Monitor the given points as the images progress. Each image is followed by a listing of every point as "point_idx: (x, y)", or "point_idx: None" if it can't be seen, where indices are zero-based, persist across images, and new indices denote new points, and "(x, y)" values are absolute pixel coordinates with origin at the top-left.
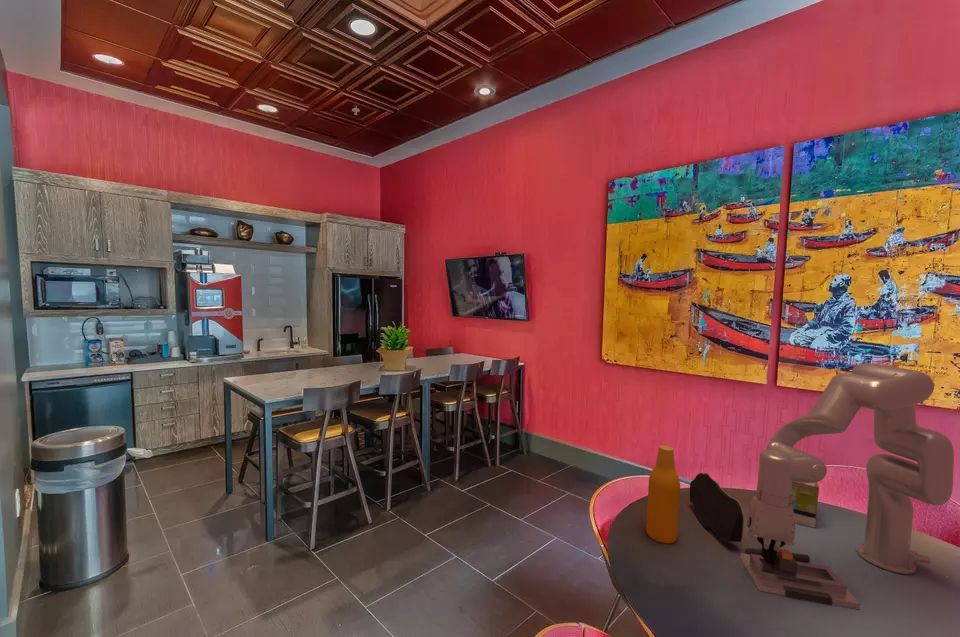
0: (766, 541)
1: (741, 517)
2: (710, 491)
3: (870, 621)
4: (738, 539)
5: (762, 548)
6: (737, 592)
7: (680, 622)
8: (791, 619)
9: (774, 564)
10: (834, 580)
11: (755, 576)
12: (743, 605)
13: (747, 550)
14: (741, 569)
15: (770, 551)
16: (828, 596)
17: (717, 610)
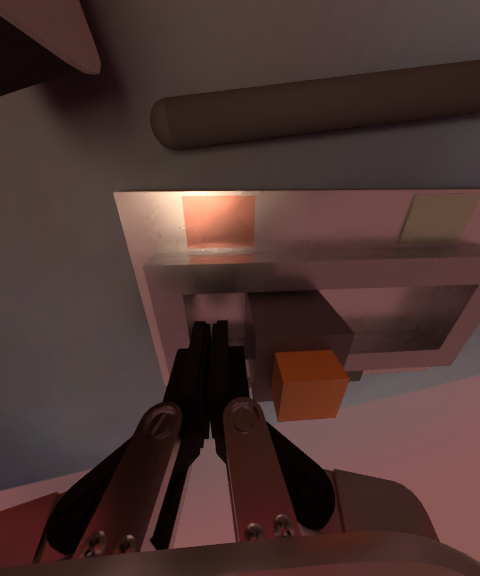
0: (156, 540)
1: None
2: None
3: (399, 382)
4: (56, 70)
5: (168, 393)
6: (109, 391)
7: (5, 481)
8: None
9: (247, 311)
10: (441, 340)
11: (160, 353)
12: (122, 421)
13: (158, 136)
14: (126, 285)
15: (203, 439)
16: (354, 376)
17: (66, 446)
